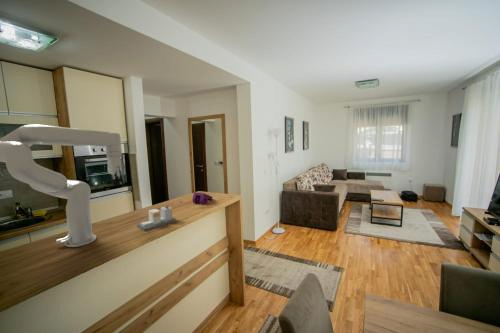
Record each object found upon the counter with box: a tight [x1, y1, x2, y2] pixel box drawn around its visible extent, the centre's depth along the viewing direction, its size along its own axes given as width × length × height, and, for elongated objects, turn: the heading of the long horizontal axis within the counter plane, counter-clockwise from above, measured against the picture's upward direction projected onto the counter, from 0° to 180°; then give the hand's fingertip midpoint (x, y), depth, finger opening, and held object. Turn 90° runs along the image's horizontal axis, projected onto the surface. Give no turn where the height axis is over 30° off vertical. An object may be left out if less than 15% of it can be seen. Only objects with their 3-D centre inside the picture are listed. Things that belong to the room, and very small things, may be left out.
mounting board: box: [136, 205, 177, 232], centre depth 134 cm, size 20×10×10 cm, turn 138°
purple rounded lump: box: [192, 191, 213, 206], centre depth 182 cm, size 9×8×18 cm
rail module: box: [148, 208, 161, 225], centre depth 133 cm, size 4×6×7 cm
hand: (116, 185), depth 129 cm, fingers closed
